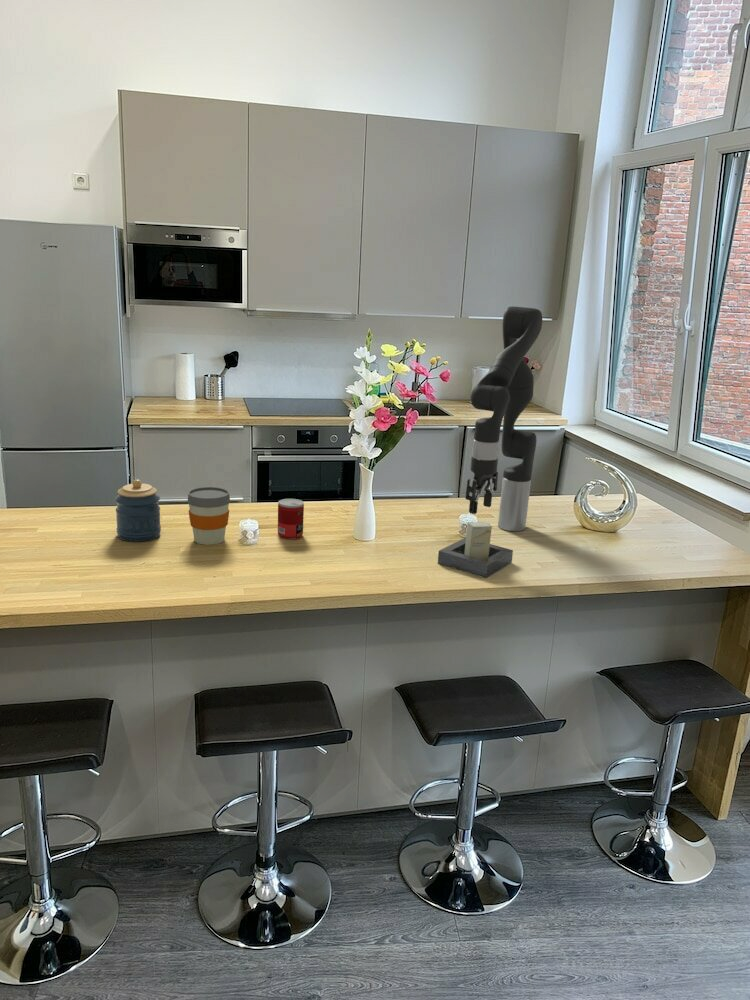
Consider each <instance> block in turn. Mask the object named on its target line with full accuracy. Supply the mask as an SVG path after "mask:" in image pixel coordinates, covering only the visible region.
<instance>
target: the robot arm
mask: <svg viewBox="0 0 750 1000" xmlns="http://www.w3.org/2000/svg"><path fill="white" fill-rule="evenodd" d="M542 327H543V313H542V312H541V310H540V309H538V308H533V307H524V306H523V307H522V306H508V307H507V308H506V309H505V310H504V313H503V317H502V341H503V349H502V351H500V352H499V353H498V354H497V355H496V356H495V357H494V360H493V361H492V363H491V366H490V367H489V370H488V372H487V373H486V374H485V375H484V376H483V377H482V378H481V379H480V380H479V381H478V382H477V383H476V384H475V386H474V387H473V388H472V391H471V393H470V404H471V405H472V407H473V408H475V409H476V410H480V411H486V412H487V411H488V412H493V414H492V415H491V416H490V417H482V418H478V419H476V422H475V423H474V425H475V426H474V433H473V434H474V436H473V442H472V448H471V457H470V471H471V472H472V473H473V474H474V475H473V478H471V479H470V478H468V479H467V483H466V490H465V500H466V501H469V508H468V513H469V514H472V515H476V514H477V513H478V504H479V503H478V502H479V498H480V497H481V496H482V495H483V493H484V495H483V502H482V503H483V507H487V508H491V507H492V501H493V495H494V493H495V492H497V490H498V479H499V478H498V477H499V472H498V464H499V454H500V452H499V451H500V434H501V452H502V455H503V456H505V457H507V458H513V459H519V460H522V462H521V463H520V464H515V465H512V466H507V467H505V468H504V469H503V474H502V481H501V482H502V483H501V493H500V503H499V512H498V513H499V514H498V521H497V527H498V528H499V529H502V530H504V531H508V532H523V531H524V530H526V526H527V525H526V524H527V518H528V517H527V516H528V510H529V500H530V491H531V482H532V475H533V466H534V461H535V453H536V448H537V434H536V433H535V432H532V431H529V430H528V431H527V430H519V429H515V423H516V421H517V420H518V418H519V417H520V415H521V414H522V413H523V412H524V410H525V409H526V408H527V407H528V406H529V404H530V402H531V401H532V400H533V398H534V397H533V396H534V382H535V380H534V375H533V371H532V370H531V368H530V366H529V364H528V363H527V361H526V360H525V358H524V357H525V356H526V355H527V354H528V352H529V350H530V349H531V348H532V346H533V345H534V343H535V342H536V340H537V339H538V337H539V336H540V332H541V331H542ZM502 422H503V423H502ZM501 426H502V431H501Z"/></svg>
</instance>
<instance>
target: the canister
mask: <svg viewBox="0 0 750 1000" xmlns="http://www.w3.org/2000/svg"><path fill="white" fill-rule="evenodd" d="M157 491H158V490H157V488H156V487H153V486H152V485H151V484H148V483H142V481H141V480H140V479H133V481H132V483H129V484H125V485H123V486H122V487H120V488H119V489H118V490H117V494H118V495H117V496H116V497H115V498H114V501H115V503H116V504H117V505H116V508H115V514H116V515H115V516H116V534H117V538H119V539H121V540H123V541H125V542H126V541H127V542H135V543H136V542H137V543H138V542H148V541H152V540H155V539H157V538H159V537H160V536H161V532H162V529H161V528H162V525H161V507H160V505H159V501H160V500H161V497H160V496H159V495H158V494H157Z"/></svg>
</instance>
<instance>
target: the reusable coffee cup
mask: <svg viewBox="0 0 750 1000" xmlns="http://www.w3.org/2000/svg"><path fill="white" fill-rule="evenodd" d="M230 503H231V496H230V491H229V489H226V488H222V487H217V486H201V487H197V488H193V489H191V490H189V491H188V493H187V504H188V508H189V509H188V516H189V517H188V518H189V523H190V526H191V528H192V532H193V533H192V534H193V540H194V542H195V543H196V542H197V543H196V544H199V545H203V544H204V545H206V546H213V545H218V543H219V544H221V543H223V542H224V541H225V537H226V528H227V526H228V523H229V517H230V509H229V505H230Z"/></svg>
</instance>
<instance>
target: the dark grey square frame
mask: <svg viewBox="0 0 750 1000" xmlns="http://www.w3.org/2000/svg"><path fill="white" fill-rule="evenodd" d="M465 543H466V537H463V538H462V539H460V540H458V541H455V542H453V543H452V544H450V545H448V546H446V547H443V548H442V549H440V550H438V556H437V565H442V566H445V567H448V568H451V569H454V570H457V571H460V572H465V573H467V574H471V575H474V576H478V577H481V578H484V579H487V578H489V577H490V576H493V575H494V574H496V573H497V572H499V571H502V569H504V568H506V567H507V566H508V565H510V564H512V562H513V555H514V550H513V549H510V548H506V547H503V546H498V545H496V544H492V543H490V547H489V556H488V558H487V559H485V560H481V559H477V558H474V557H470V556H467V555H464V552H465Z"/></svg>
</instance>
